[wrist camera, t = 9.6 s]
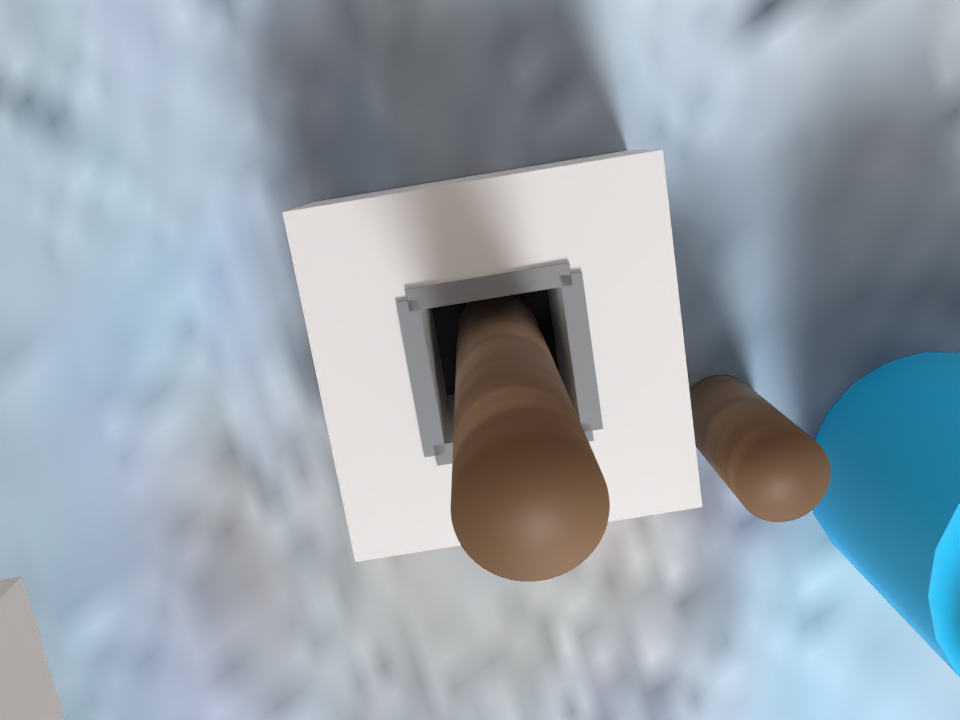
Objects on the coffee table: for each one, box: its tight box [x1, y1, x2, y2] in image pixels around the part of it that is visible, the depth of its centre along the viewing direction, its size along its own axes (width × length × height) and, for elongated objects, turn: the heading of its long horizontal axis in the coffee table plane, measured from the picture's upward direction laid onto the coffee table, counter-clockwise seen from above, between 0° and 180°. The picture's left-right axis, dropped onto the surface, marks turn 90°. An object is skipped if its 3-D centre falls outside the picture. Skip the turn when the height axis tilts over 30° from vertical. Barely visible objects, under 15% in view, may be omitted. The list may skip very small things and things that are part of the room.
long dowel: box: [451, 295, 610, 581], centre depth 22 cm, size 3×3×15 cm
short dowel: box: [689, 375, 831, 522], centre depth 27 cm, size 3×3×6 cm
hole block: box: [282, 150, 702, 562], centre depth 27 cm, size 10×10×5 cm
